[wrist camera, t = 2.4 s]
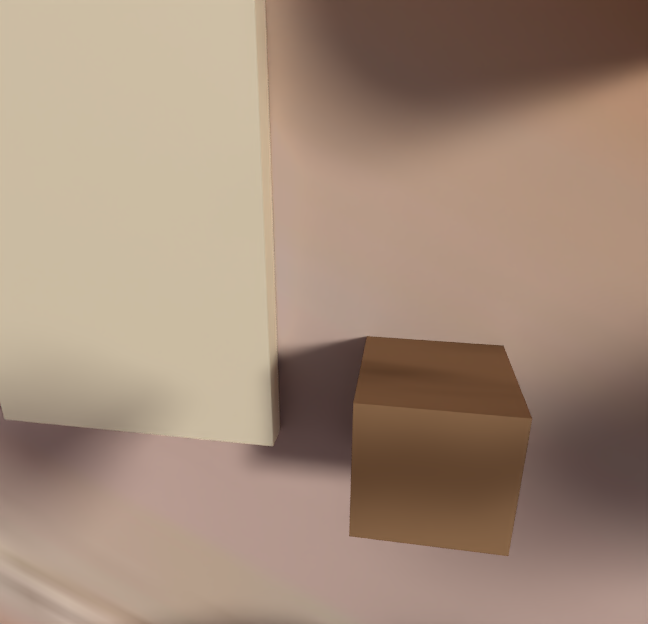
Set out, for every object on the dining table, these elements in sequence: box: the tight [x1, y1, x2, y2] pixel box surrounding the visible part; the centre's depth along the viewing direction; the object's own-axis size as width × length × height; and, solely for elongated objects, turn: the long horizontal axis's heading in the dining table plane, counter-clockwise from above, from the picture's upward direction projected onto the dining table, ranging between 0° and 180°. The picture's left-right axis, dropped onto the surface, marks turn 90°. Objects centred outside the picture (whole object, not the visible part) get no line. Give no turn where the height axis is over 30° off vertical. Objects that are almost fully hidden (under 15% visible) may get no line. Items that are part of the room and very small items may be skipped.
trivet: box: [0, 0, 280, 446], centre depth 19 cm, size 16×12×1 cm
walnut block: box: [349, 336, 532, 556], centre depth 18 cm, size 5×5×5 cm
